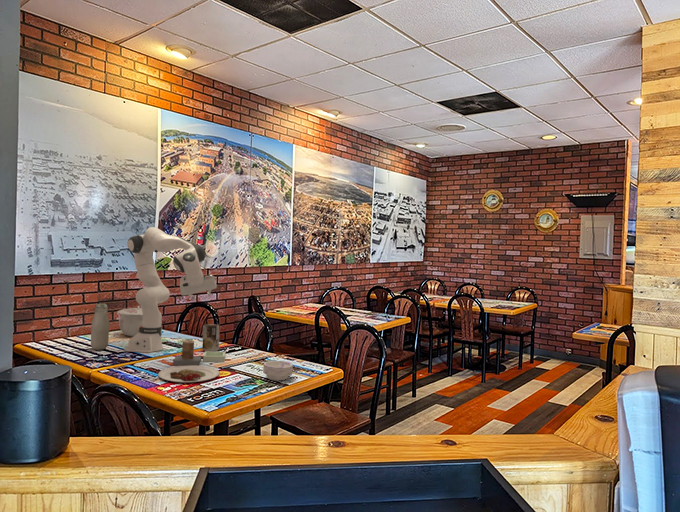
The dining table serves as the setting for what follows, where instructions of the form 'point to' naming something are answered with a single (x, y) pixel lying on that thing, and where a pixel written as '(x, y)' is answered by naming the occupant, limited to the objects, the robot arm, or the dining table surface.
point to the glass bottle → (100, 327)
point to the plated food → (188, 373)
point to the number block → (188, 349)
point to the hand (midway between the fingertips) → (201, 296)
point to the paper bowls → (278, 370)
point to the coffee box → (211, 337)
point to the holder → (214, 357)
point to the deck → (186, 361)
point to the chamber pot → (130, 320)
